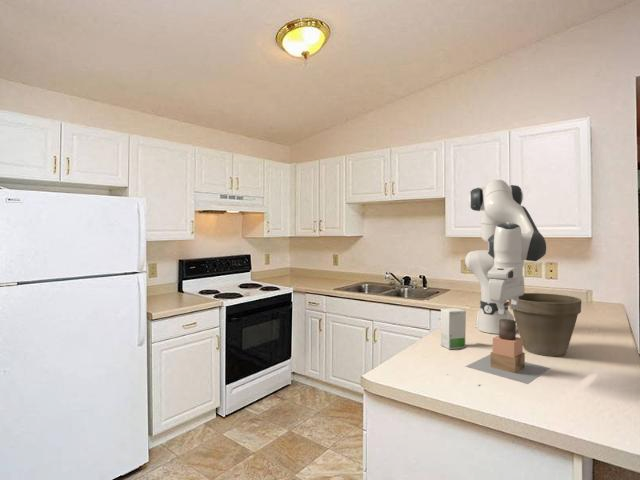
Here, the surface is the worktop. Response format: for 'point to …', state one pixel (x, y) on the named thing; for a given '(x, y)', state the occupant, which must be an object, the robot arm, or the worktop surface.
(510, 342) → the terracotta top block
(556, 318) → the plant pot
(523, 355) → the walnut base block
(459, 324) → the skincare box
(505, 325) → the espresso cylinder
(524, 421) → the worktop surface
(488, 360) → the slate mat
